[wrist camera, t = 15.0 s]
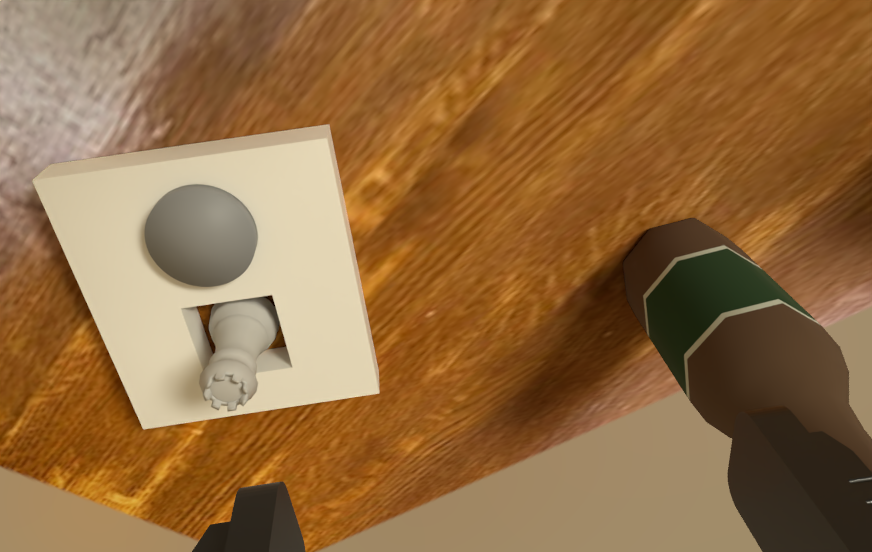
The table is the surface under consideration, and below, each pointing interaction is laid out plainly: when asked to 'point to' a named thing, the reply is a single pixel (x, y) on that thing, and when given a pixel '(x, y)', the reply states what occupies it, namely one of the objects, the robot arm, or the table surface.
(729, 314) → the beer bottle
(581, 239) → the table surface
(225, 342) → the rook chess piece
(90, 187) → the carrier plate
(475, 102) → the table surface
